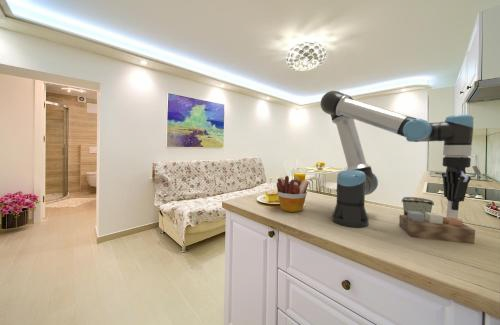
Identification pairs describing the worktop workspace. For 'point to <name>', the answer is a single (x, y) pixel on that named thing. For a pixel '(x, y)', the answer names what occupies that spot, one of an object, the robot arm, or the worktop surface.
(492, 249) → the worktop surface
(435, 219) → the ivory key
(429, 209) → the food container
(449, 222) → the terracotta key
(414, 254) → the worktop surface
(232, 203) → the worktop surface
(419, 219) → the slate key
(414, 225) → the brown wooden tray
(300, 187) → the bucket of meat
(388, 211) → the worktop surface
